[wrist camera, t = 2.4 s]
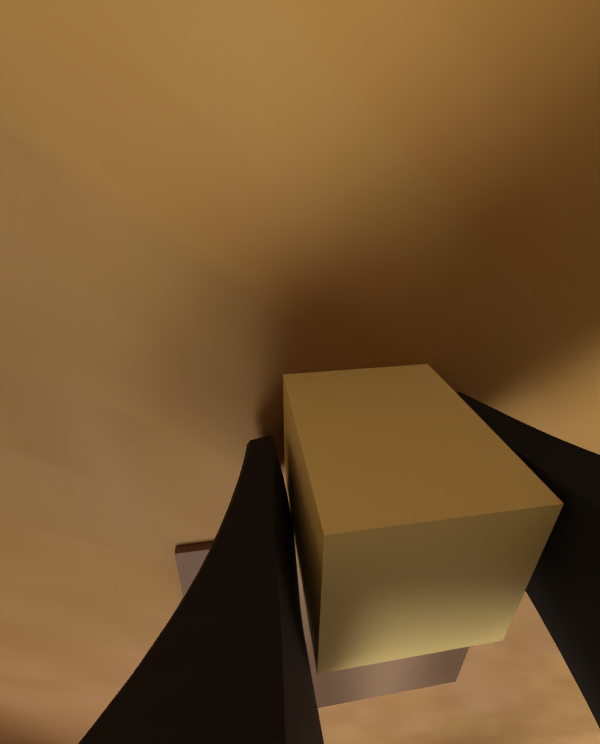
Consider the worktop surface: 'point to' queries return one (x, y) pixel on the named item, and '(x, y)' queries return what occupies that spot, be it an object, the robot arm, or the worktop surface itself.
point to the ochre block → (405, 515)
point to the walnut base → (352, 680)
